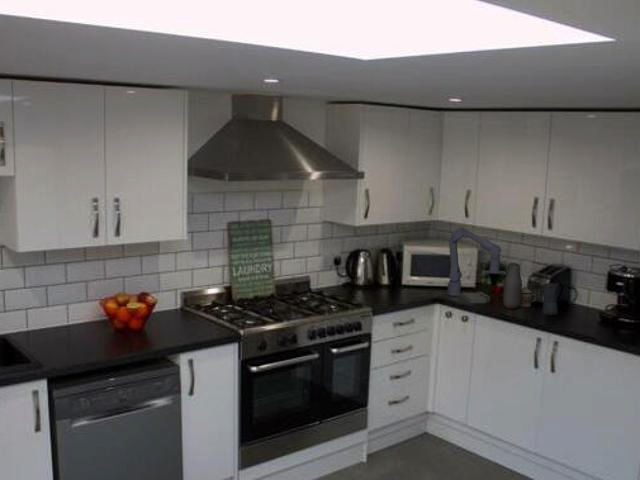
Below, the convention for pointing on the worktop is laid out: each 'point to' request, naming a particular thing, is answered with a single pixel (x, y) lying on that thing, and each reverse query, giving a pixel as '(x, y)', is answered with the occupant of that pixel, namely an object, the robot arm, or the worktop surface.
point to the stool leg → (484, 296)
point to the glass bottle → (512, 286)
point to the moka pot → (550, 297)
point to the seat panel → (473, 297)
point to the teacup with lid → (526, 297)
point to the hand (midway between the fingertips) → (493, 285)
